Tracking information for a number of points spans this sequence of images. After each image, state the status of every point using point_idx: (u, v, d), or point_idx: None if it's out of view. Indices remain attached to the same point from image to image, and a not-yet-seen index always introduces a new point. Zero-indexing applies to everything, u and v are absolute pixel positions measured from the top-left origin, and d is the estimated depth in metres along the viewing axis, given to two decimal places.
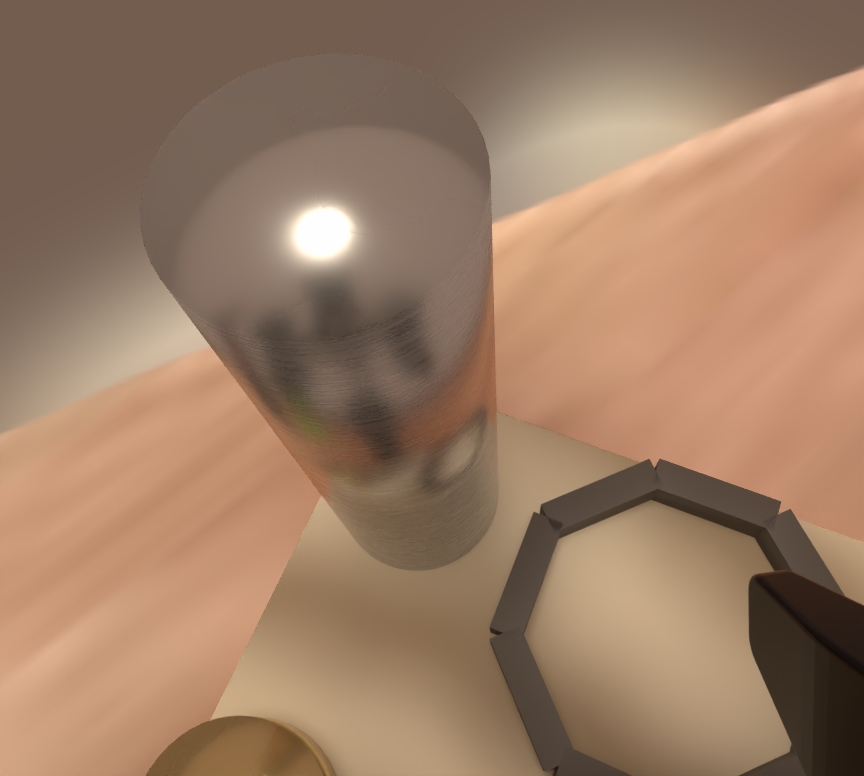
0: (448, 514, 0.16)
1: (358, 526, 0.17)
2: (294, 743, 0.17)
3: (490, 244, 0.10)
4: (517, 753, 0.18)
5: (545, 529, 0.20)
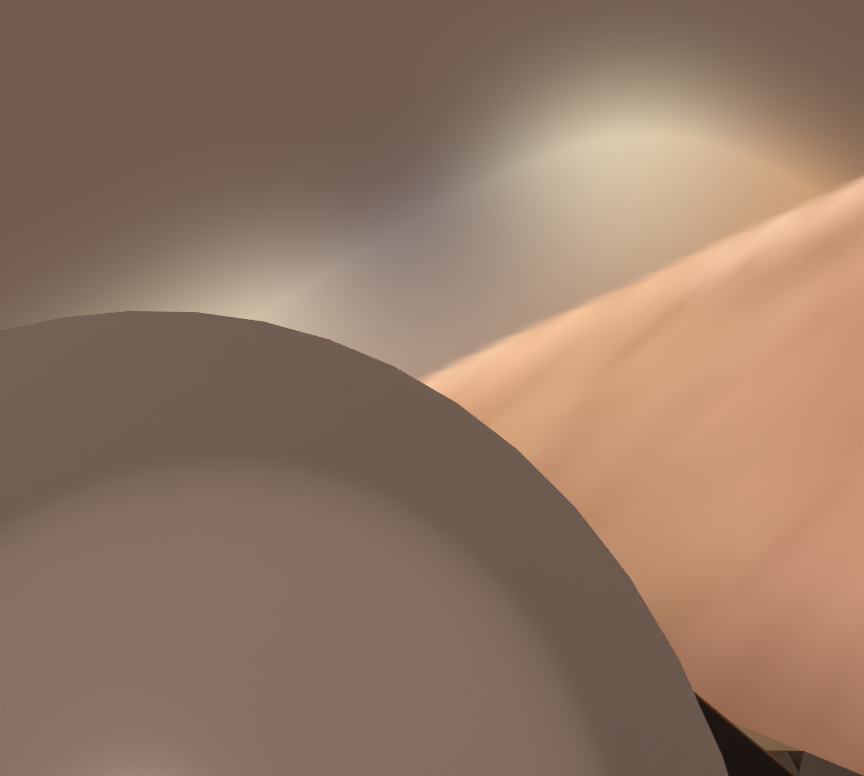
0: None
1: None
2: None
3: None
4: None
5: None
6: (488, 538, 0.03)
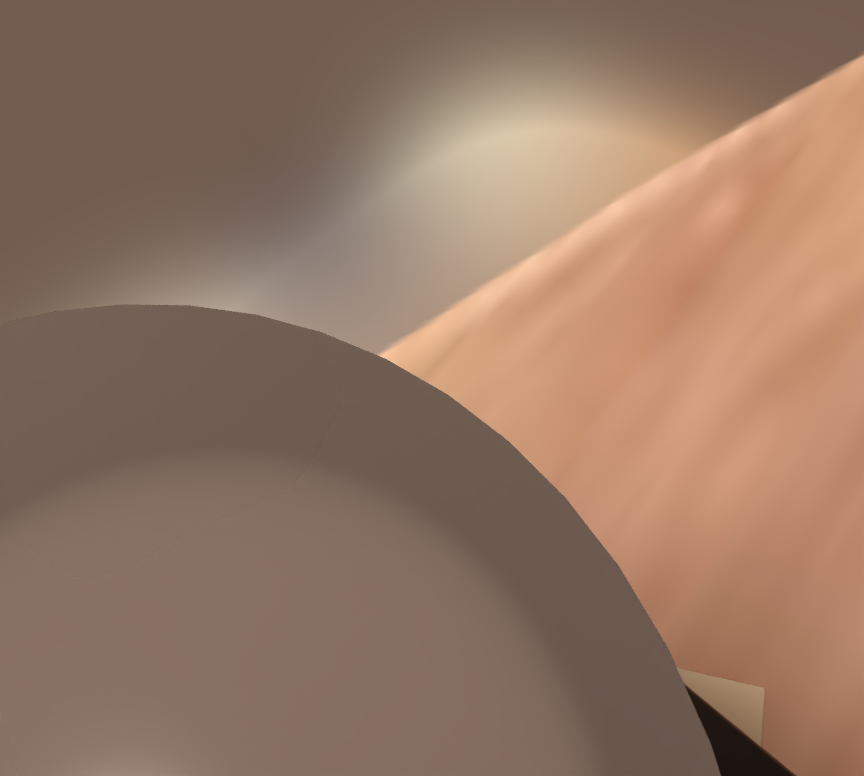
0: None
1: None
2: None
3: None
4: None
5: None
6: (479, 529, 0.03)
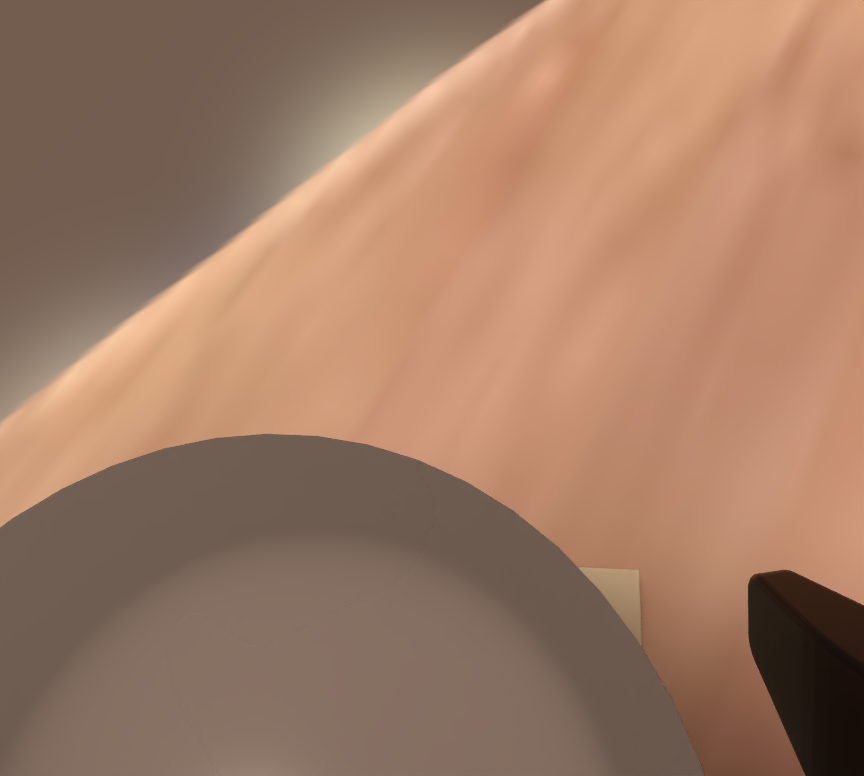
0: None
1: None
2: None
3: None
4: None
5: None
6: (539, 613, 0.04)
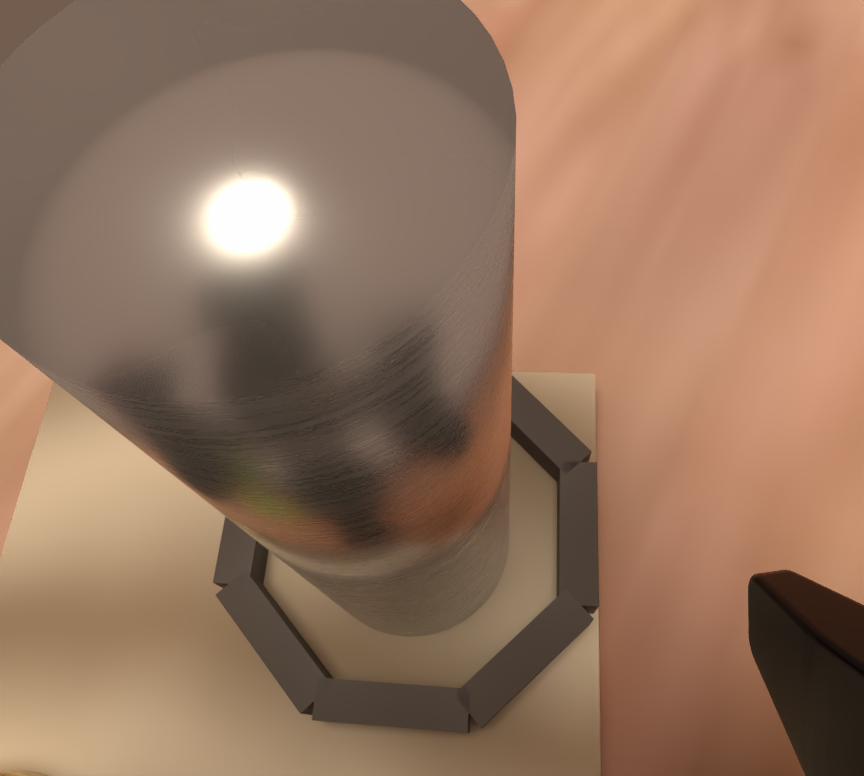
0: (448, 586, 0.13)
1: (333, 597, 0.13)
2: None
3: (512, 234, 0.06)
4: (281, 707, 0.16)
5: None
6: (417, 4, 0.06)
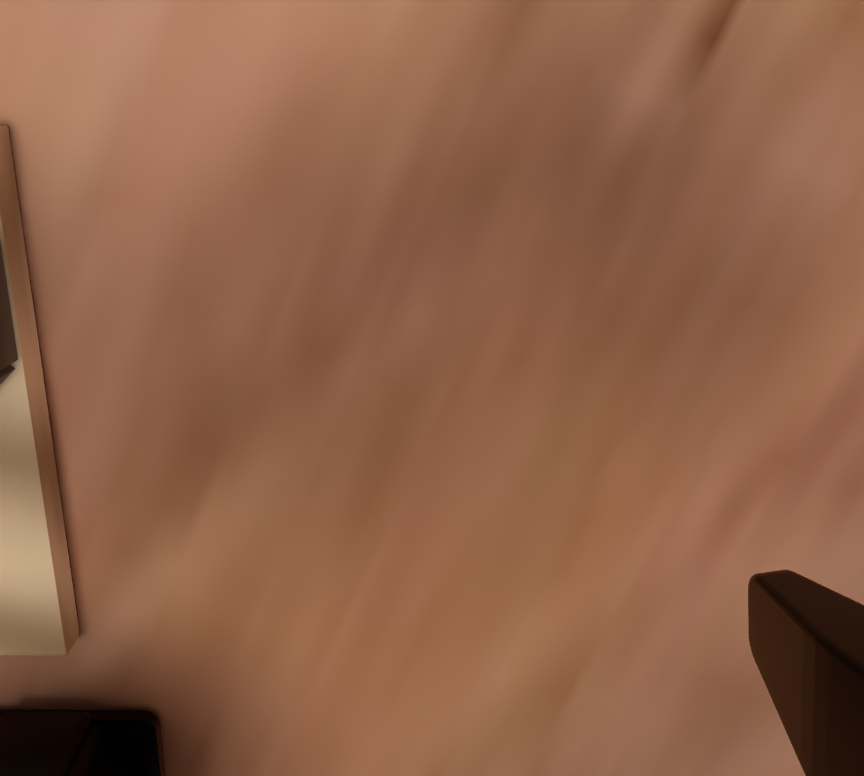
0: None
1: None
2: None
3: None
4: None
5: None
6: None
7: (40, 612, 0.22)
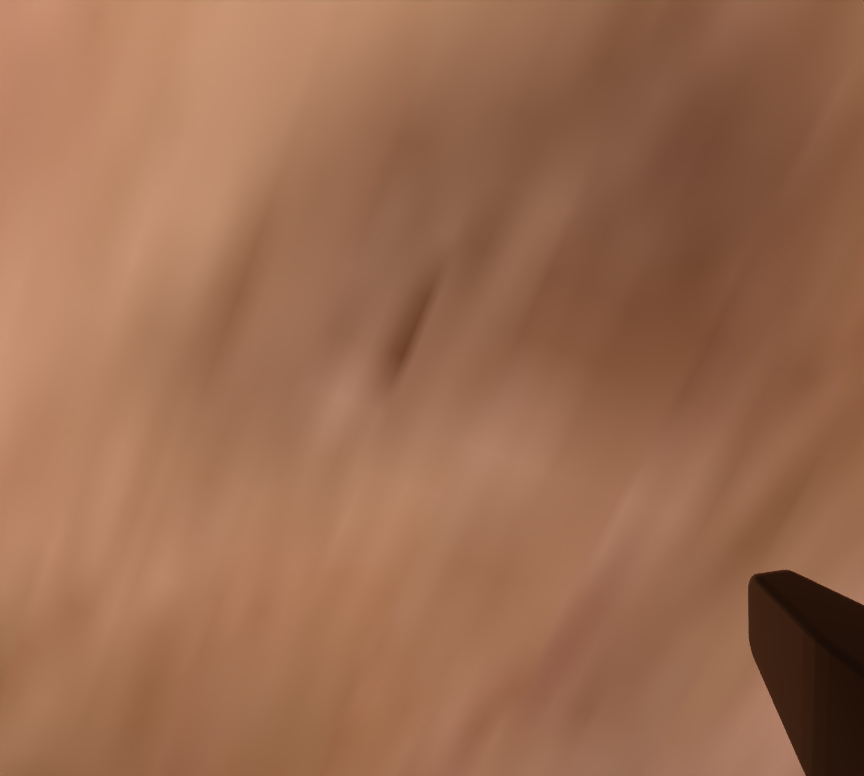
0: None
1: None
2: None
3: None
4: None
5: None
6: None
7: None
